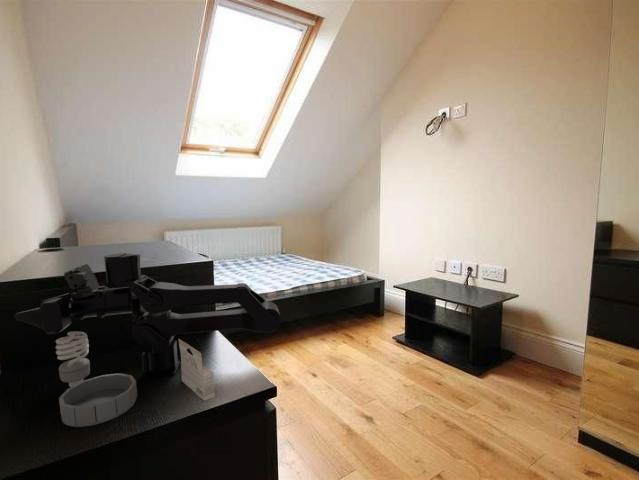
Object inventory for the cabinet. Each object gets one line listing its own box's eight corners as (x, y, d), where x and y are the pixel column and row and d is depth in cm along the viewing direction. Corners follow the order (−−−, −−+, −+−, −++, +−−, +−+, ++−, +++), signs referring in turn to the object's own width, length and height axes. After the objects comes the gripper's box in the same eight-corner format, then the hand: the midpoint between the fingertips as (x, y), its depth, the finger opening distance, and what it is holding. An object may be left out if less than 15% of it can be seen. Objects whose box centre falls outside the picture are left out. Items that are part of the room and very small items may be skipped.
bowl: (144, 386, 74) (142, 370, 73) (124, 421, 62) (122, 402, 62) (80, 393, 72) (78, 377, 71) (47, 431, 60) (45, 412, 59)
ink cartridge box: (192, 377, 78) (189, 334, 76) (215, 397, 69) (213, 349, 68) (180, 381, 76) (177, 337, 75) (203, 402, 68) (200, 353, 67)
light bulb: (87, 392, 72) (81, 335, 71) (55, 397, 71) (49, 339, 69) (96, 379, 78) (91, 326, 76) (66, 383, 76) (60, 329, 75)
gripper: (120, 258, 85) (48, 264, 82) (86, 274, 67) (-9, 281, 64) (126, 303, 87) (55, 310, 84) (93, 330, 69) (1, 340, 66)
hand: (29, 309), depth 74 cm, fingers open, 9 cm apart
